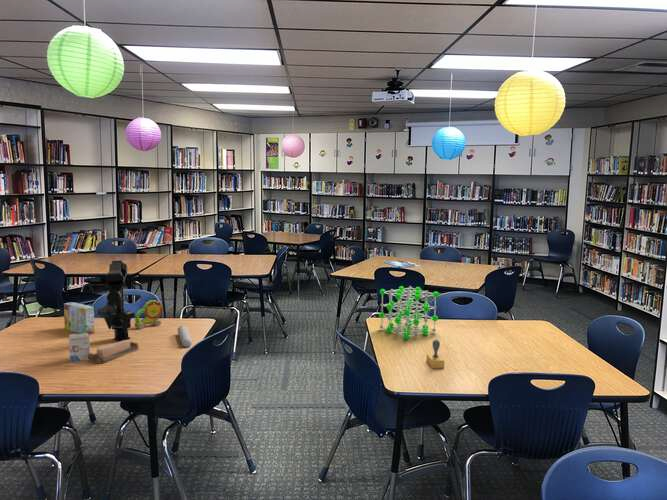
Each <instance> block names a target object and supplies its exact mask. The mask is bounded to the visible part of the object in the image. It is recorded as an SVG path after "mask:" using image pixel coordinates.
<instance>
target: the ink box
mask: <svg viewBox="0 0 667 500" xmlns="http://www.w3.org/2000/svg"><path fill="white" fill-rule="evenodd" d="M90 343H91V342H90V334H89V333H81V334H80V333H72V334H69V335H68V347H69V360H70V362H72V363H73V362H79V361H86V360H87V361H89V357H88V354H89V353H91V349H90V348H91V347H90Z"/></svg>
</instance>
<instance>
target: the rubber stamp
mask: <svg viewBox="0 0 667 500" xmlns="http://www.w3.org/2000/svg"><path fill="white" fill-rule="evenodd" d="M431 343H432V345H431V346H432V348H433V353H426V362H427V363H428V364H429V366H430V367H431V368H432V369H444V368H445V360H444V358H443V356H441V355H440V354H439V349H440V345H441V344H440V341H439V340H438V339H434V340H433V341H432V342H431Z"/></svg>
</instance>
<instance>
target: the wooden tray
mask: <svg viewBox="0 0 667 500" xmlns="http://www.w3.org/2000/svg"><path fill="white" fill-rule="evenodd" d="M130 347H131V348H128V349H125V350H123V351H120V352H118V353H115V354H112V355H110V356H107V357H104V356H102V355H97V352H95V353H91V352H90V353H89V354H88V357H89V359H88V362H93V363H97V364H103V365H104V364H106V363H108V362H111V361H113V360H116V359H118V358H121V357H124V356H127V355H129V354H131V353H133V352H136V351H138V350H139V343H138V342H134V341H130Z"/></svg>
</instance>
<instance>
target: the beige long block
mask: <svg viewBox="0 0 667 500" xmlns="http://www.w3.org/2000/svg"><path fill="white" fill-rule="evenodd" d="M130 342H131V341H130V340H128V339H127V340H123V341H117V342H115V343H111V344H109V345H105V346H102V347H99V348H96V353H97V355H102V356H104V357H107V356H110V355H112V354H115V353H118V352H120V351H123V350H125V349H128V348H131V347H130Z"/></svg>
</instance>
